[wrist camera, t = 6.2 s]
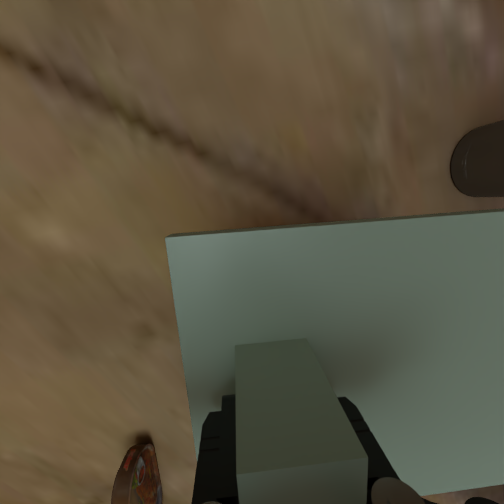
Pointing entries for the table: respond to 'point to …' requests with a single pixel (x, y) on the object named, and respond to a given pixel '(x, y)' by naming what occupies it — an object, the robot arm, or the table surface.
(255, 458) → the lid
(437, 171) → the table surface
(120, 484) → the tin
